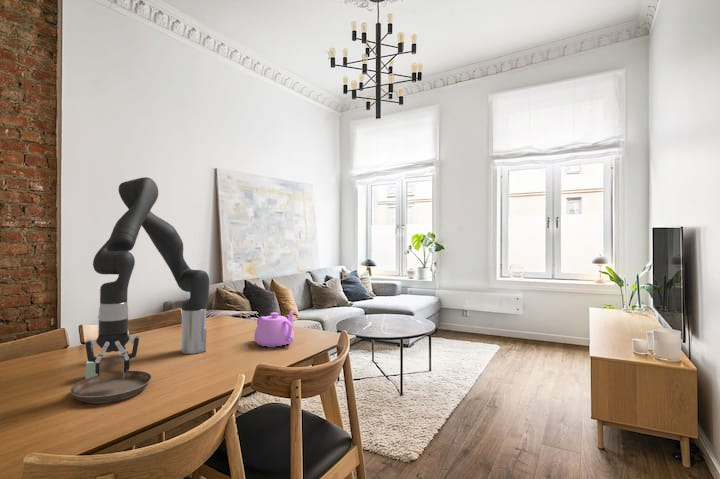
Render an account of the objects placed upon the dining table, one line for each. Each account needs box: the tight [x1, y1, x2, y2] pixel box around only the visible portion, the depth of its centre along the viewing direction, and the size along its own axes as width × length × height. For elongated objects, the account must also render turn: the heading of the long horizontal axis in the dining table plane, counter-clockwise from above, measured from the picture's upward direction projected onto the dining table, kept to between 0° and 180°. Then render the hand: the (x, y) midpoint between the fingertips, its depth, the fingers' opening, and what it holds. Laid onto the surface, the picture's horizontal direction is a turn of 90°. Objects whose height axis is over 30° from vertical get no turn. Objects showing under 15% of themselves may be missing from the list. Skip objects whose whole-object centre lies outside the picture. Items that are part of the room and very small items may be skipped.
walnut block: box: [99, 353, 125, 382], centre depth 120 cm, size 6×6×6 cm
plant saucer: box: [70, 370, 153, 404], centre depth 120 cm, size 21×21×3 cm
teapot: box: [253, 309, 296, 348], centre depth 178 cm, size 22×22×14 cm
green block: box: [85, 360, 98, 379], centre depth 132 cm, size 6×6×6 cm
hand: (112, 373), depth 120 cm, fingers closed on walnut block, 6 cm apart
